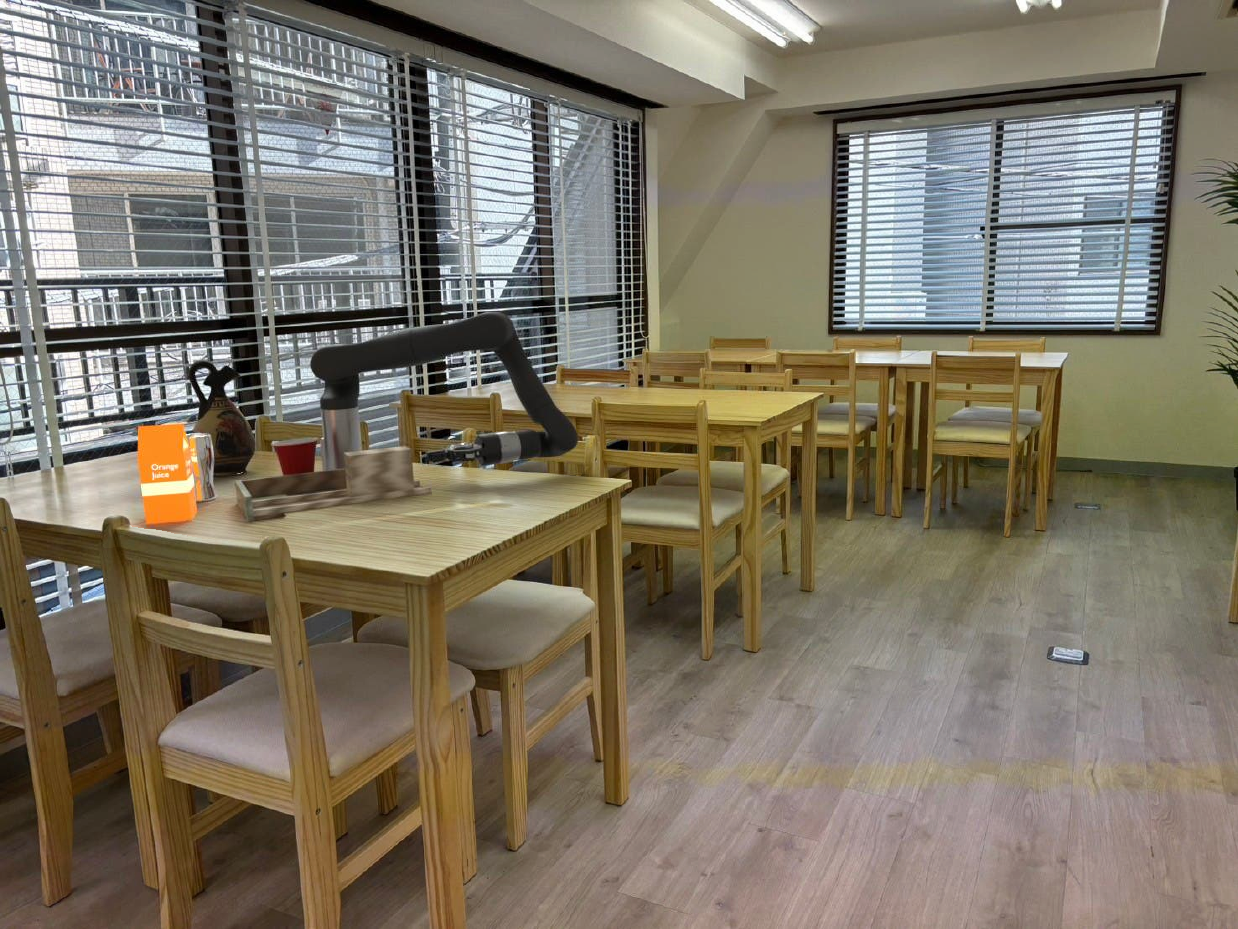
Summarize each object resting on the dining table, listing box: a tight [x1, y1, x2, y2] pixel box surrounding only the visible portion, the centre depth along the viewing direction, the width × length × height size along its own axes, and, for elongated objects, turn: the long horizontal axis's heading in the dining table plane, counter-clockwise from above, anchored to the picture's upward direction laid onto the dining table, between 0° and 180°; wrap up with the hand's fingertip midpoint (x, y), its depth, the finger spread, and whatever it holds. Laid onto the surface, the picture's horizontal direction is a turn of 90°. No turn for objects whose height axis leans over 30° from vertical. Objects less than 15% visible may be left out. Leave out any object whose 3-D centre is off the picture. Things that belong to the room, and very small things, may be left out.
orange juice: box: [136, 423, 198, 525], centre depth 192 cm, size 8×9×20 cm
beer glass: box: [186, 433, 218, 503], centre depth 209 cm, size 7×7×15 cm
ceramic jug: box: [188, 360, 256, 477], centre depth 238 cm, size 17×15×30 cm
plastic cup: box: [270, 437, 319, 476], centre depth 219 cm, size 11×11×12 cm
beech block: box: [344, 445, 415, 497], centre depth 206 cm, size 14×5×10 cm, turn 118°
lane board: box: [234, 468, 432, 522], centre depth 206 cm, size 39×19×5 cm, turn 118°
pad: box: [252, 494, 288, 501], centre depth 203 cm, size 8×7×1 cm
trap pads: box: [299, 488, 336, 495], centre depth 211 cm, size 20×7×1 cm, turn 118°
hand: (427, 456), depth 210 cm, fingers closed
